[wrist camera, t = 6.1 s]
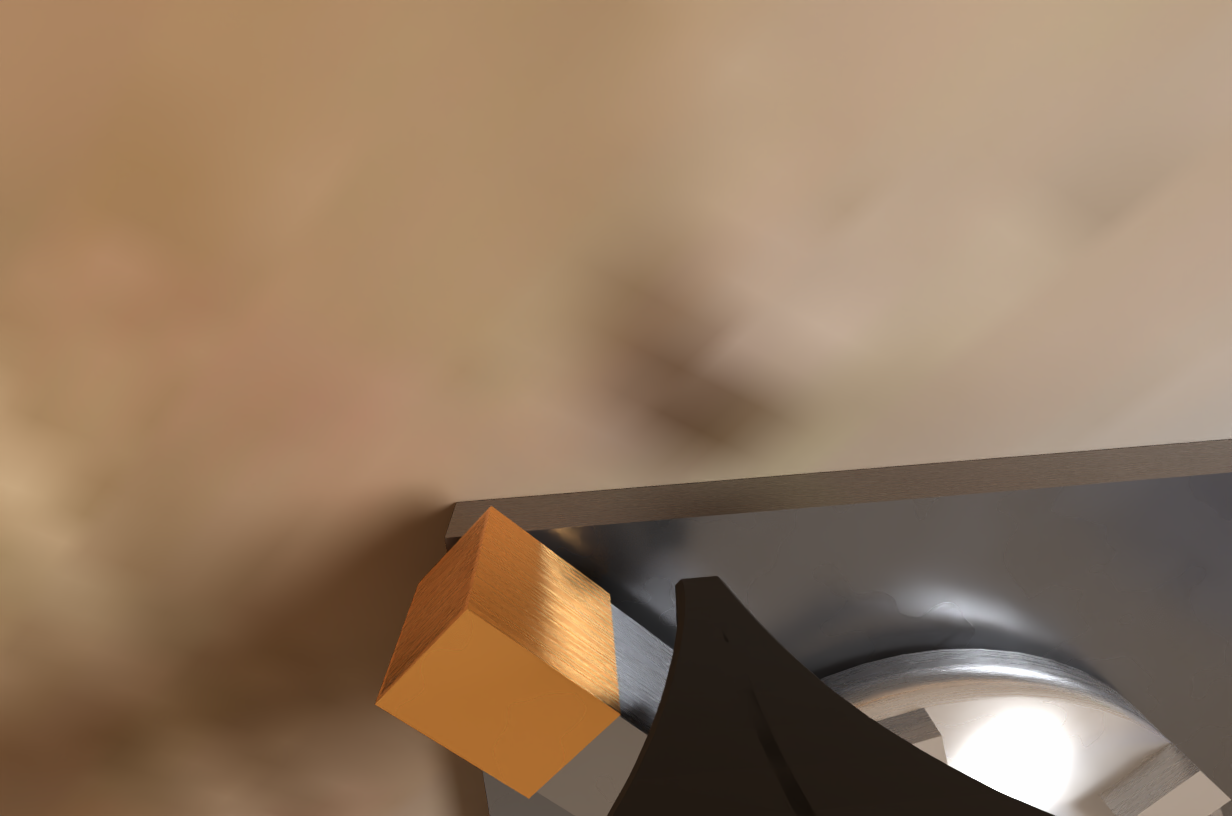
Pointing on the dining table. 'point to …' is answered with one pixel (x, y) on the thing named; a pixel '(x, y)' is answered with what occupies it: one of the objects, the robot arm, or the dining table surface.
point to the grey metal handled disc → (637, 671)
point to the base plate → (941, 570)
